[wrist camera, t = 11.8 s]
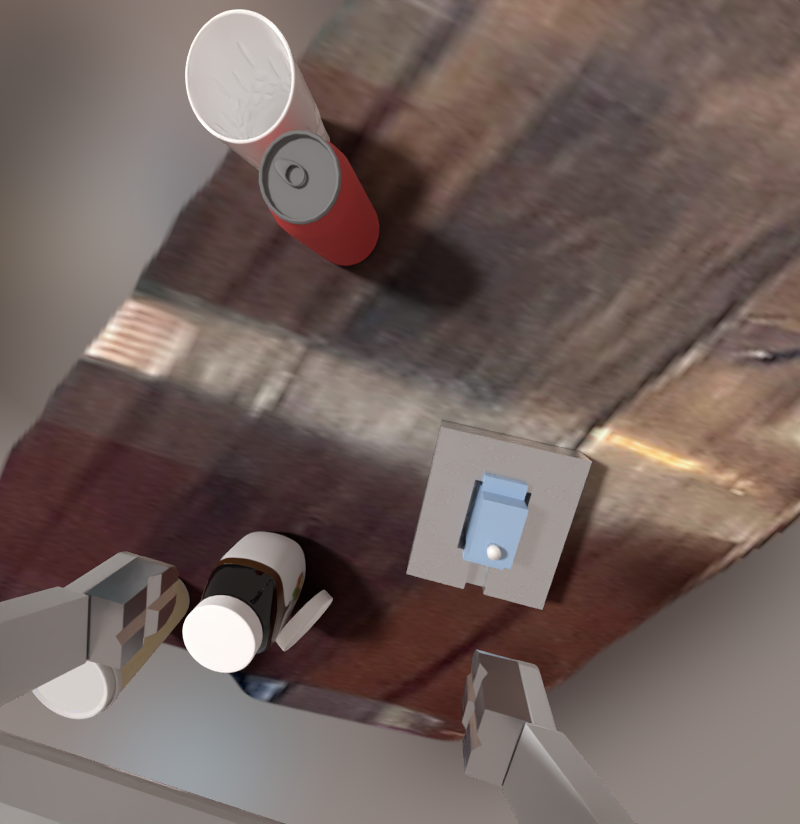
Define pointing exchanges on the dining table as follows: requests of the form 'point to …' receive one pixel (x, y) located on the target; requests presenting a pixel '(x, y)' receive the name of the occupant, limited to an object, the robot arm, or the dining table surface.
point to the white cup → (248, 84)
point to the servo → (495, 522)
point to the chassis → (453, 496)
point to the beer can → (318, 197)
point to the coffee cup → (105, 673)
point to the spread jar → (251, 603)
